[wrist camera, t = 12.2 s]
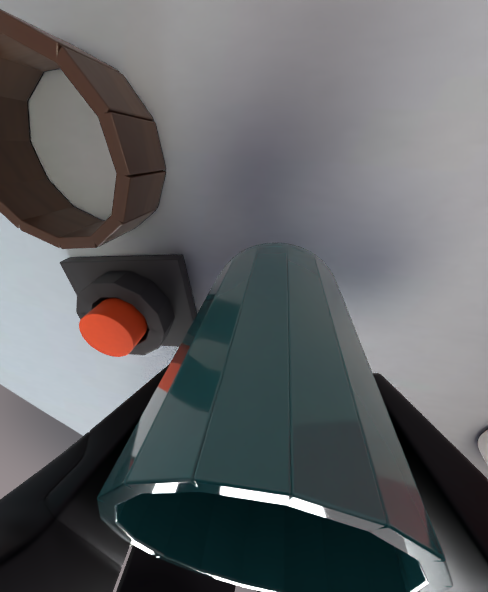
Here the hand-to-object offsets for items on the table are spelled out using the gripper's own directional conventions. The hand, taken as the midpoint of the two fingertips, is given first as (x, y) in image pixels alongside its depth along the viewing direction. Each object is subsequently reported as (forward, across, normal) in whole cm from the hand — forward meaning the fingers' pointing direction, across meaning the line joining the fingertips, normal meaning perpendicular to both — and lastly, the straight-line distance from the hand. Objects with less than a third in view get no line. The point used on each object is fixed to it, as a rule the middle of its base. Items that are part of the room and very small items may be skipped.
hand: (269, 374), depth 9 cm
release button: (+7, +12, +3) cm, 14 cm away
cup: (+5, 0, 0) cm, 5 cm away
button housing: (+10, +12, +3) cm, 16 cm away
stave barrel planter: (+9, +11, -8) cm, 17 cm away
